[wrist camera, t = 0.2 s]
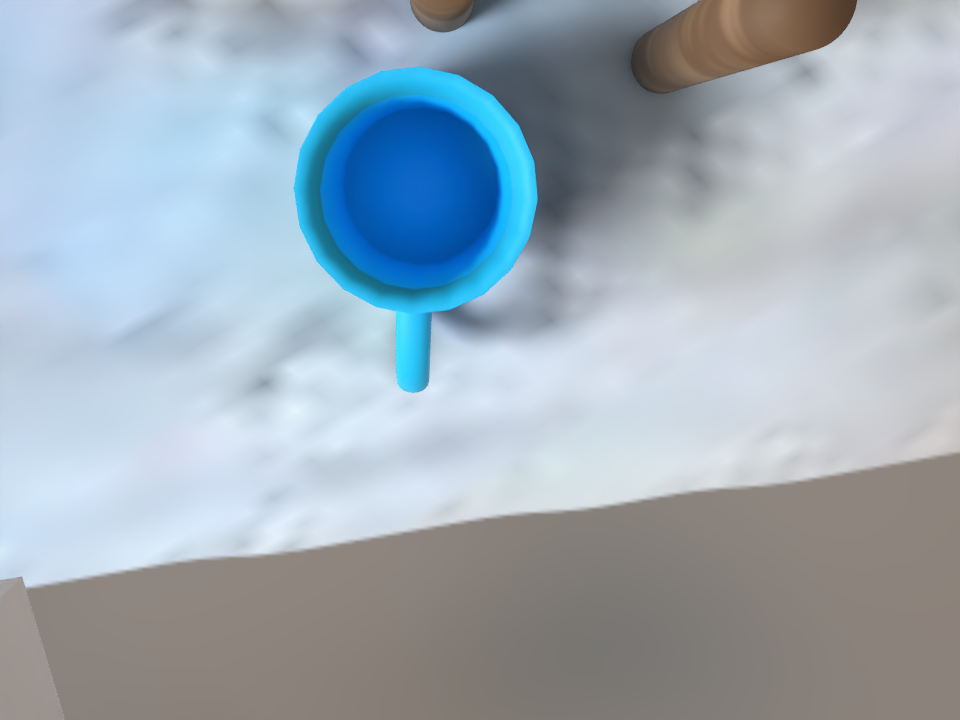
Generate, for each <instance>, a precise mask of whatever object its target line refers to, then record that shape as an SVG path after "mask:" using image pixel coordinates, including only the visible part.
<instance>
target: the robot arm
mask: <svg viewBox="0 0 960 720" xmlns="http://www.w3.org/2000/svg"><path fill="white" fill-rule="evenodd" d="M0 720H65V719H64V716H63V712H62V709H61V706H60V702H59V699H58V695H57V692H56V689H55V686H54V682H53V679H52V675H51V672H50V669H49V665H48V662H47V658H46V655H45V652H44V649H43V645H42V642H41V639H40V635H39V632H38V628H37V625H36V622H35V618H34V615H33V612H32V608H31V605H30V602H29V598H28V595H27V592H26V588H25V585H24V582H23V578H22V577H18V578H12V579H6V580H0Z"/></svg>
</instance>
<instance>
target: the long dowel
mask: <svg viewBox="0 0 960 720" xmlns="http://www.w3.org/2000/svg"><path fill="white" fill-rule="evenodd" d="M856 4H857V0H700V1H698V2H697V3H695V4H693V5H692V6H690V7H688V8H687V9H685V10H684V11H682V12H680V13H679V14H677V15H675V16H674V17H672V18H670V19H669V20H667V21H665V22H664V23H662V24H661V25H659V26H657V27H656V28H654V29H652V30H651V31H649V32H647V33H646V34H645V35H643V36H642V37H641V38H640V40H639V41H638V42H637V44H636V45H635V48H634V50H633V53H632V61H631V63H632V70H633V73H634V76H635V78H636V79H637V81H638V82H639V83H640V85H641V86H643V87H644V88H645V89H647V90H649V91H651V92H654V93H668V92H672V91H675V90H679V89H682V88H685V87H689V86H692V85H696V84H699V83H703V82H706V81H710V80H713V79H716V78H720V77H723V76H727V75H730V74H734V73H737V72H741V71H744V70H747V69H751V68H754V67H758V66H761V65H765V64H768V63H772V62H775V61H778V60H782V59H785V58H789V57H792V56H796V55H799V54H803V53H806V52H810V51H813V50H816V49H819V48H822V47H824V46H826V45H828V44H830V43H831V42H833V41H834V40H835V39H836V38H838V37H839V36H840V35H841V34H842V32H843V31H844V30H845V29H846V27H847V26H848V24H849V23H850V21H851V19H852V17H853V14H854V11H855V8H856Z"/></svg>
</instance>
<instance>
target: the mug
mask: <svg viewBox="0 0 960 720" xmlns="http://www.w3.org/2000/svg"><path fill="white" fill-rule="evenodd" d="M294 193H295V199H296V205H297V212H298V218H299V225H300V228H301V230H302V232H303V234H304V236H305V238H306V240H307V242H308V244H309V246H310V248H311V250H312V252H313V255H314V257H315V259H316V261H317V262H318V263H319V264H320V265H321V266H322V267H323V268H324V269H325V270H326V271H327V272H328V274H329V275H330V276H331V277H332V278H333V279H334V280H335V281H336V282H337V283H338V284H339V285H340V286H341V287H342V288H343V289H344V290H346V291H348V292H350V293H352V294H353V295H355V296H357V297H359V298H361V299H363V300H364V301H366V302H368V303H370V304H372V305H374V306H375V307H379V308H384V309H389V310H394V311H397V313H396V373H397V383H398V385H399V387H400V388H401V389H403V390H404V391H407V392H412V393H414V392H420V391H422V390H424V389H425V388H426V387H427V386H428V383H429V368H430V343H431V317H432V312H436V311H445V310H451V309H453V308H455V307H457V306H460V305H462V304H464V303H466V302H468V301H471V300H473V299H475V298H477V297H479V296H482V295H484V294H485V293H486V292H487V291H488V290H489V289H490V288H491V287H492V286H493V285H495V284H496V283H497V282H498V281H499V280H500V279H501V278H502V277H503V276H504V275H506V274H507V273H508V272H509V271H510V270H511V269H512V267H513V265H514V263H515V262H516V260H517V258H518V257H519V255H520V253H521V251H522V250H523V248H524V246H525V244H526V243H527V241H528V239H529V237H530V233H531V229H532V224H533V220H534V215H535V210H536V206H537V201H538V196H537V186H536V175H535V165H534V160H533V157H532V155H531V153H530V150H529V148H528V146H527V143H526V141H525V139H524V136H523V134H522V131H521V129H520V127H519V125H518V124H517V123H516V121H515V120H514V119H513V118H512V117H511V116H510V114H509V113H508V112H507V111H506V110H505V109H504V108H503V106H502V105H501V104H500V103H499V102H498V101H497V99H496V98H495V97H494V96H493V95H491V94H490V93H488V92H486V91H485V90H483V89H481V88H480V87H478V86H476V85H475V84H473V83H471V82H470V81H468V80H466V79H465V78H463V77H461V76H460V75H456V74H451V73H447V72H442V71H438V70H433V69H429V68H424V67H414V68H405V69H396V70H387V71H381V72H379V73H377V74H374V75H372V76H370V77H368V78H366V79H364V80H362V81H360V82H357V83H355V84H353V85H351V86H349V87H347V88H345V89H344V90H343V91H342V92H341V93H340V94H339V95H338V96H337V97H336V98H335V99H334V100H333V101H332V102H331V103H330V104H329V105H328V106H327V107H326V108H325V109H324V110H323V111H322V112H321V113H320V114H319V115H318V116H317V118H316V120H315V122H314V124H313V126H312V128H311V130H310V132H309V134H308V135H307V137H306V139H305V141H304V143H303V145H302V147H301V149H300V153H299V160H298V166H297V172H296V178H295V185H294Z"/></svg>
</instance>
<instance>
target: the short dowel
mask: <svg viewBox="0 0 960 720" xmlns="http://www.w3.org/2000/svg"><path fill="white" fill-rule="evenodd" d="M474 1H475V0H410V4H411V8H412V11H413V13H414V15H415V17H416V18H417V20H418V21H419V22H420V23H421V24H422V25H423V26H425V27H426V28H428V29H430V30H432V31H436V32H449V31H453V30H455V29H457V28H459V27H460V26H462V25H463V24H464V23H465V22H466V21H467V19H468V18H469V16H470V14H471V12H472V9H473V6H474Z"/></svg>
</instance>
